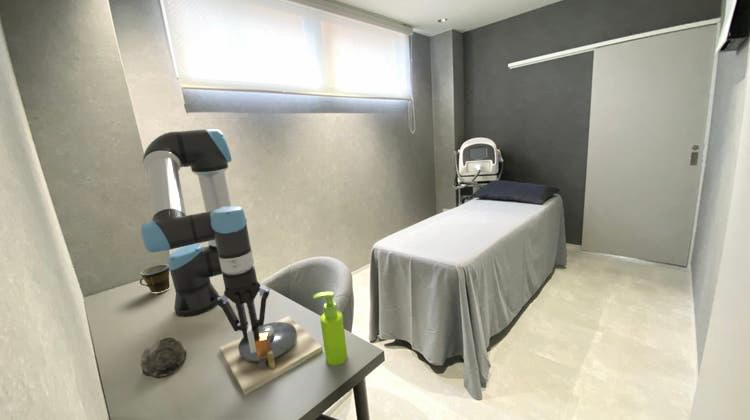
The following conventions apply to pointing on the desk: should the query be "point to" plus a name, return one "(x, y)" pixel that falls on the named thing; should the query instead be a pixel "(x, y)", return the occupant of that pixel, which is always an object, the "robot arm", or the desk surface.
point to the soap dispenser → (332, 330)
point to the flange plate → (276, 344)
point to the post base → (282, 363)
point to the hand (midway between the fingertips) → (254, 349)
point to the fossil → (163, 358)
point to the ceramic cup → (156, 278)
